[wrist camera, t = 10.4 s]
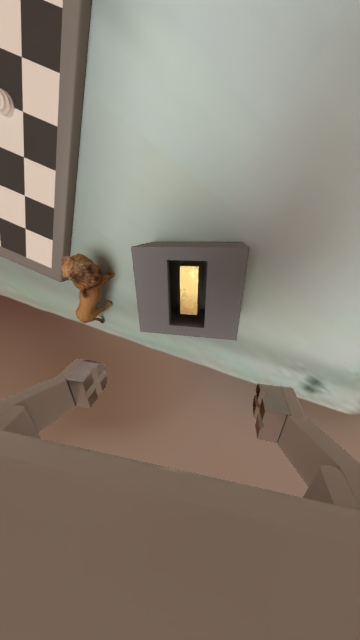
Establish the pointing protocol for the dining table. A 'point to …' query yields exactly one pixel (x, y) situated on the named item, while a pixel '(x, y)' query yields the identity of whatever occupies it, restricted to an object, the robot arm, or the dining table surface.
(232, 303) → the money box
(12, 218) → the chess set
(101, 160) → the dining table surface
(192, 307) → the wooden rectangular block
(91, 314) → the lion figurine
